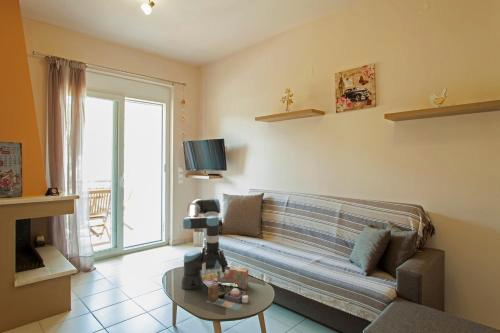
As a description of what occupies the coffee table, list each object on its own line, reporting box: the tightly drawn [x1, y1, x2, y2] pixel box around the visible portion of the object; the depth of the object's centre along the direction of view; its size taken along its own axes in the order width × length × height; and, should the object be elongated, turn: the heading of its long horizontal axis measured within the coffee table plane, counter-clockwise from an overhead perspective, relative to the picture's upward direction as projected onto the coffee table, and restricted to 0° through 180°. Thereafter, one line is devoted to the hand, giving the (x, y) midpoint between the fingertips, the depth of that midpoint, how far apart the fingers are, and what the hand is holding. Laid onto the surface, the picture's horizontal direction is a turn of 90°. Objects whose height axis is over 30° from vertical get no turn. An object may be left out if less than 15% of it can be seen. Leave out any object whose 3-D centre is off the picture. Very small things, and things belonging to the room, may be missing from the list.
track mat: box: [206, 297, 243, 311], centre depth 178 cm, size 22×7×1 cm, turn 64°
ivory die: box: [241, 294, 249, 304], centre depth 181 cm, size 3×3×3 cm
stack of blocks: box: [216, 266, 249, 290], centre depth 204 cm, size 21×6×12 cm, turn 72°
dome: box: [229, 287, 241, 297], centre depth 185 cm, size 7×7×5 cm
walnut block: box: [207, 283, 219, 303], centre depth 182 cm, size 4×4×9 cm
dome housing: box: [224, 288, 247, 304], centre depth 185 cm, size 10×10×3 cm
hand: (212, 275), depth 181 cm, fingers open, 13 cm apart
